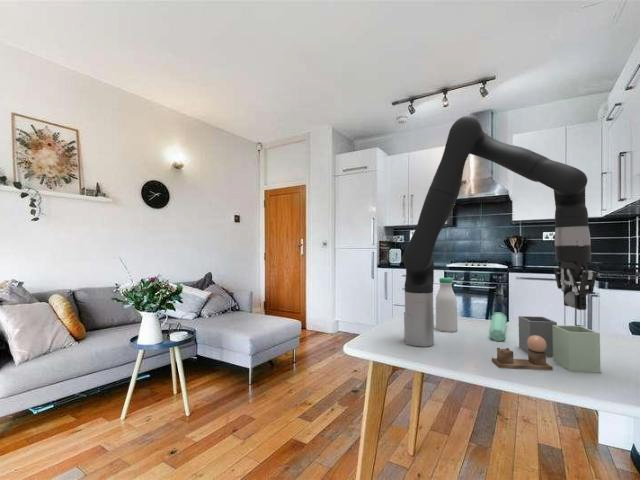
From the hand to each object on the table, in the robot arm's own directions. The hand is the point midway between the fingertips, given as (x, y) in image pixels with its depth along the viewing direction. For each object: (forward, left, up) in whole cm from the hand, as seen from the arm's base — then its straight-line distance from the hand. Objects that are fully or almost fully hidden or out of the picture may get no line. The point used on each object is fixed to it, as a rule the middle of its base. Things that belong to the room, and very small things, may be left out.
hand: (574, 307), depth 84 cm
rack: (-14, -1, -16) cm, 21 cm away
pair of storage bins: (-2, +6, -16) cm, 17 cm away
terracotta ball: (-10, -1, -10) cm, 14 cm away
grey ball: (0, 0, +2) cm, 2 cm away
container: (-7, +32, -16) cm, 37 cm away
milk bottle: (-25, +34, -16) cm, 45 cm away
